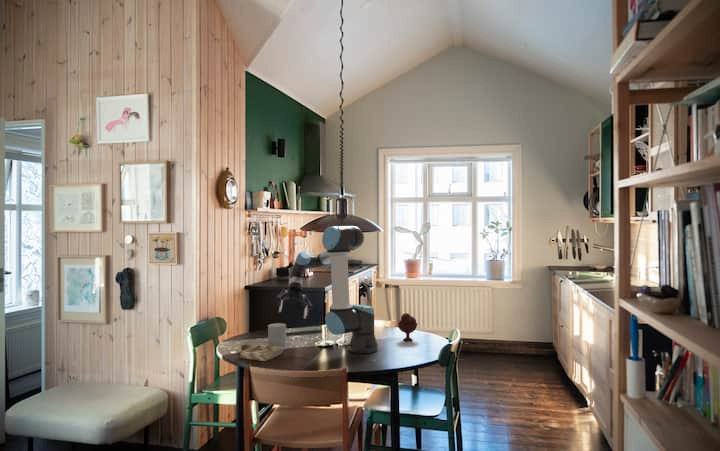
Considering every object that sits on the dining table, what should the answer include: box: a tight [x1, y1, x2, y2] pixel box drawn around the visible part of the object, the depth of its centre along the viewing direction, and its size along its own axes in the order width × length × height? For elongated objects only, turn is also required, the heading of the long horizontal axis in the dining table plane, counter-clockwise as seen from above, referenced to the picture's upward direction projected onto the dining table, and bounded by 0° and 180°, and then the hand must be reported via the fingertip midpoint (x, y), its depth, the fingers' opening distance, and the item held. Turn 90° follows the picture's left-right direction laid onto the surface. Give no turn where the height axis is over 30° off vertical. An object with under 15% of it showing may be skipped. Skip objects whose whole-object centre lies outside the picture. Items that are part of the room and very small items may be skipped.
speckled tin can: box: [267, 322, 287, 351], centre depth 257 cm, size 10×10×12 cm
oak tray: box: [239, 344, 284, 362], centre depth 243 cm, size 15×15×3 cm
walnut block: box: [240, 342, 252, 352], centre depth 251 cm, size 4×4×4 cm
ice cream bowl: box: [397, 312, 418, 343], centre depth 270 cm, size 11×11×15 cm
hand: (293, 313), depth 252 cm, fingers open, 13 cm apart
